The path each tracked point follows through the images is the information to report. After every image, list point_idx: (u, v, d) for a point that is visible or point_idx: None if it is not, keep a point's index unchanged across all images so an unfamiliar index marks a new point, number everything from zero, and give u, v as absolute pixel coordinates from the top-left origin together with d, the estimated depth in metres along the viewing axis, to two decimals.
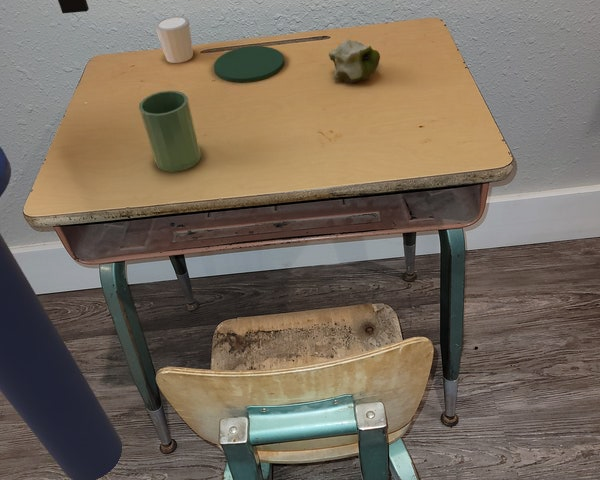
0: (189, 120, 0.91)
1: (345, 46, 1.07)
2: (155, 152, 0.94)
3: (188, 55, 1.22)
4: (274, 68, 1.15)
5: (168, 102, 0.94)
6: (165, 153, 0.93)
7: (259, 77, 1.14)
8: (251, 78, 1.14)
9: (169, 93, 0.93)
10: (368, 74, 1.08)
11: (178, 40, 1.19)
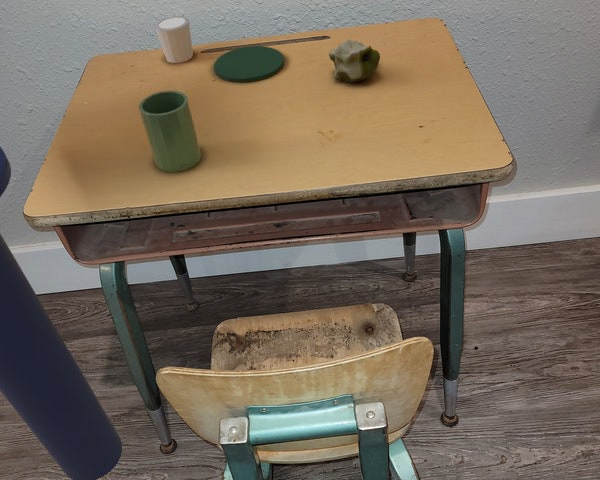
0: (189, 120, 0.91)
1: (345, 46, 1.07)
2: (155, 152, 0.94)
3: (188, 55, 1.22)
4: (274, 68, 1.15)
5: (168, 102, 0.94)
6: (165, 153, 0.93)
7: (259, 77, 1.14)
8: (251, 78, 1.14)
9: (169, 93, 0.93)
10: (368, 74, 1.08)
11: (178, 40, 1.19)
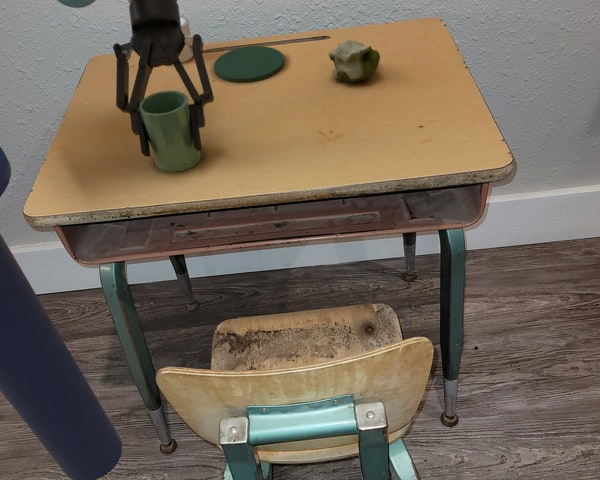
0: (189, 120, 0.92)
1: (345, 46, 1.07)
2: (155, 152, 0.94)
3: (188, 55, 1.22)
4: (274, 68, 1.15)
5: (168, 102, 0.94)
6: (165, 153, 0.93)
7: (259, 77, 1.14)
8: (251, 78, 1.14)
9: (169, 93, 0.93)
10: (368, 74, 1.08)
11: None
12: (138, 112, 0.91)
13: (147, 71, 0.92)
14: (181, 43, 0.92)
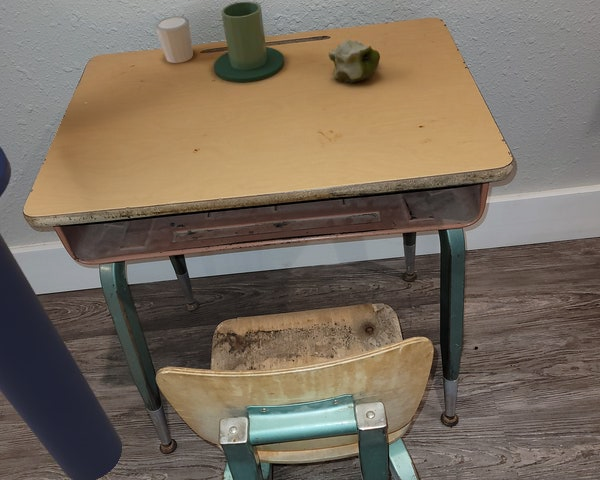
0: (261, 24, 1.12)
1: (345, 46, 1.07)
2: (232, 52, 1.14)
3: (188, 55, 1.22)
4: (274, 68, 1.15)
5: (243, 11, 1.14)
6: (241, 52, 1.13)
7: (259, 77, 1.14)
8: (251, 78, 1.14)
9: (244, 3, 1.13)
10: (368, 74, 1.08)
11: (178, 40, 1.19)
12: None
13: None
14: None
